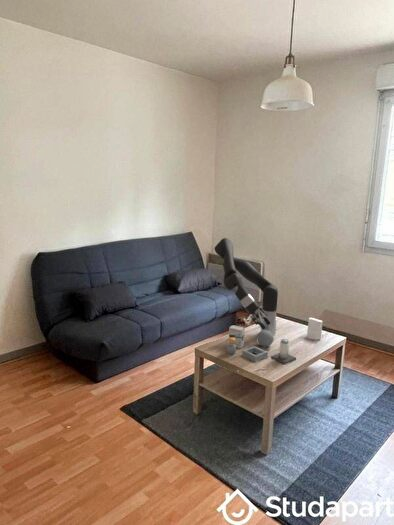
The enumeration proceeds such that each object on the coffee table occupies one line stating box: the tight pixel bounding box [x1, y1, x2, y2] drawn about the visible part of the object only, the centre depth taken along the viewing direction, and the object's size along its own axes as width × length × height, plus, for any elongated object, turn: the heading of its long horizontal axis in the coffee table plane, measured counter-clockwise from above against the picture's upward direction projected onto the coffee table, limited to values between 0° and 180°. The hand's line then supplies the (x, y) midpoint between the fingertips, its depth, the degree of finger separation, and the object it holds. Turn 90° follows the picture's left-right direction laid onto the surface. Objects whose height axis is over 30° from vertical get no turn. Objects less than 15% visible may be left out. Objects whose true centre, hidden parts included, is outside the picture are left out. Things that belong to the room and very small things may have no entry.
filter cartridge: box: [278, 338, 290, 359], centre depth 221 cm, size 5×5×10 cm
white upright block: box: [306, 317, 323, 340], centre depth 255 cm, size 9×9×12 cm
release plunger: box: [228, 337, 236, 344], centre depth 226 cm, size 4×4×2 cm
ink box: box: [227, 324, 246, 349], centre depth 237 cm, size 8×5×12 cm, turn 62°
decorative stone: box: [256, 330, 275, 348], centre depth 238 cm, size 10×10×10 cm
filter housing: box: [226, 344, 269, 363], centre depth 225 cm, size 16×19×5 cm
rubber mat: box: [270, 352, 297, 365], centre depth 222 cm, size 10×10×1 cm
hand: (266, 326), depth 224 cm, fingers open, 8 cm apart
